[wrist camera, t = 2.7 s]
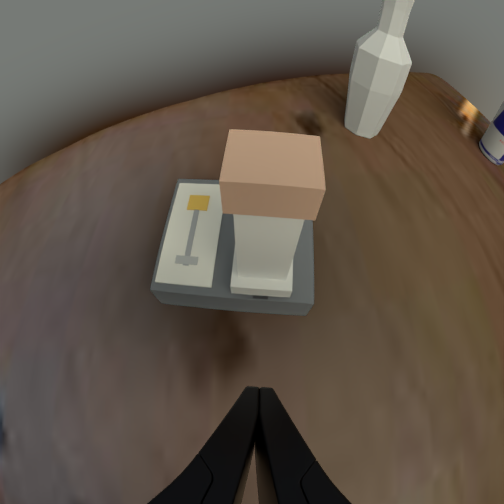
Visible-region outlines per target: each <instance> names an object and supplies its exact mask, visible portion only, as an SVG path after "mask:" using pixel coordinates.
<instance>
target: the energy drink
mask: <svg viewBox="0 0 504 504" xmlns="http://www.w3.org/2000/svg"><path fill="white" fill-rule="evenodd" d="M479 147H480V149H481V151H482V153H483V154H484V155H485V156H486V158H487V159H488V160H490V161H491V162H492V163H494V164H496V165H502V164H503V162H504V101H503V103H502V105H501V107H500V109H499V110H498V112H497V114H496V116H495V117H494V119H493V121H492V122H491V124H490V126H489V127H488V129H487V131H486V132H485V134H484V135H483V137H482V139H481V140H480V142H479Z"/></svg>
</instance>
